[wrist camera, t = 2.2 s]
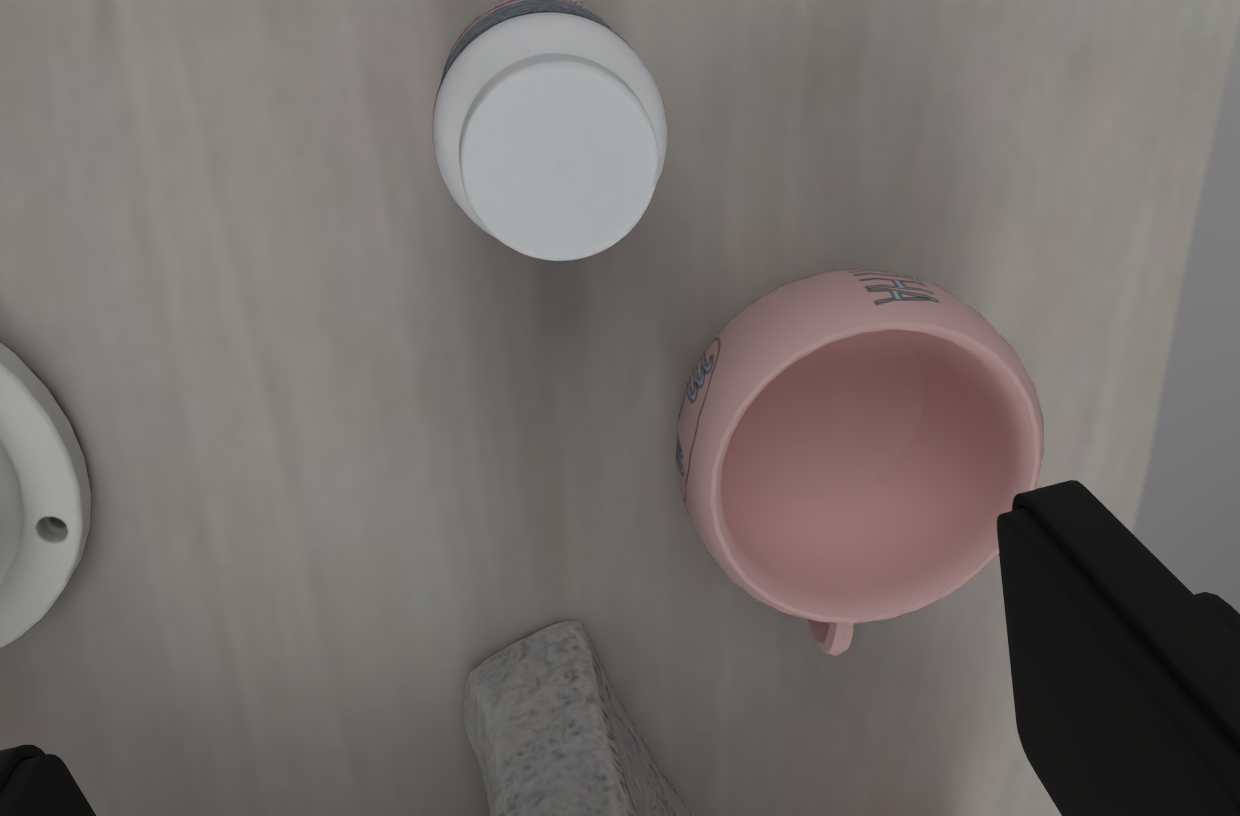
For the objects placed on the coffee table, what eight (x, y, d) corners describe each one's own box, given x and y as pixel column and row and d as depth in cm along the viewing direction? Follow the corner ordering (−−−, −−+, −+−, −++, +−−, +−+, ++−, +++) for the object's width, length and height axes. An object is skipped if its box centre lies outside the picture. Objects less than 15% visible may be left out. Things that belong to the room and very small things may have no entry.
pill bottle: (404, 56, 28) (371, 105, 20) (577, -43, 28) (612, -33, 20) (504, 228, 31) (509, 333, 23) (666, 139, 30) (732, 215, 22)
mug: (666, 238, 31) (703, 302, 26) (991, 237, 32) (1092, 298, 27) (650, 588, 36) (678, 703, 31) (934, 576, 37) (1009, 686, 32)
